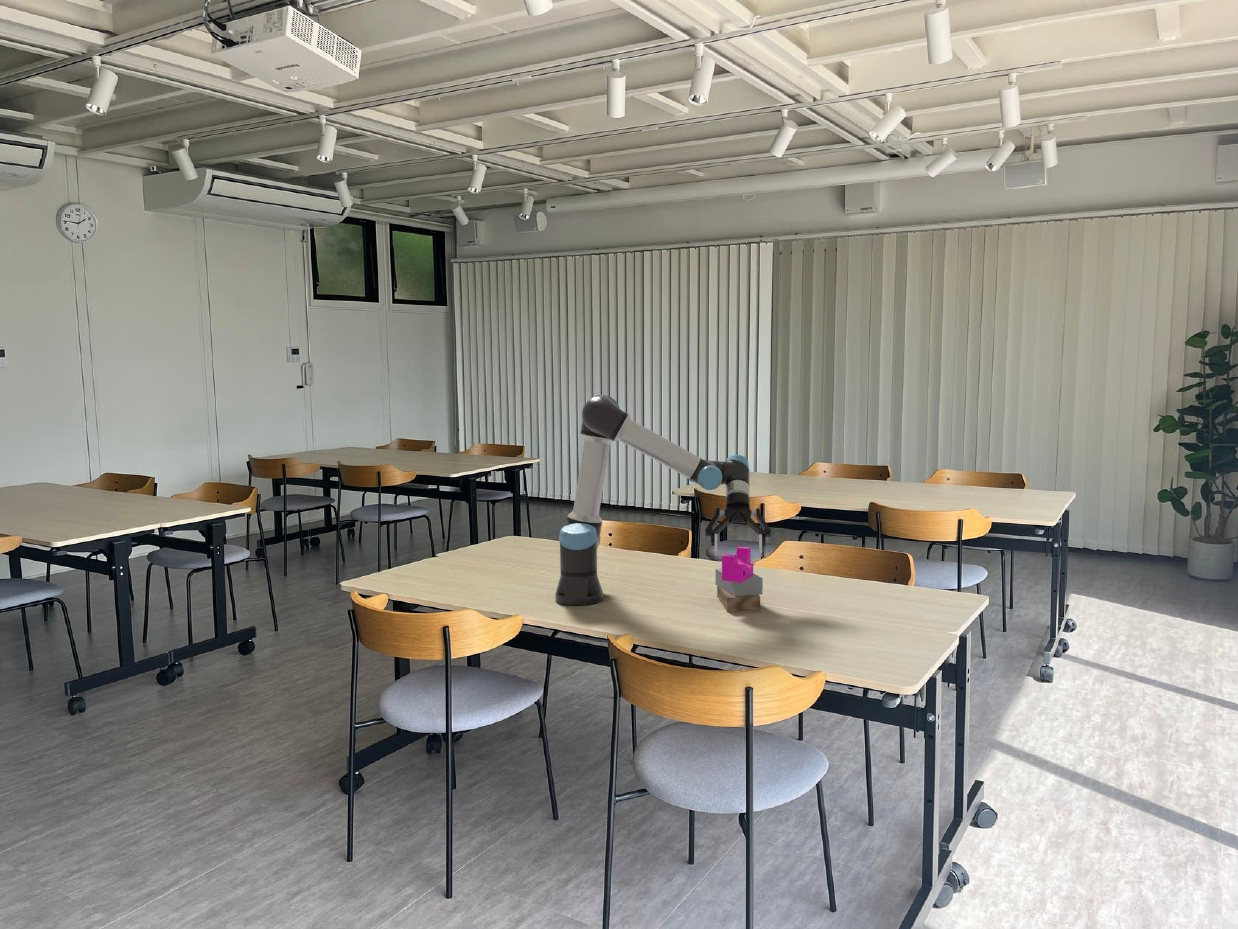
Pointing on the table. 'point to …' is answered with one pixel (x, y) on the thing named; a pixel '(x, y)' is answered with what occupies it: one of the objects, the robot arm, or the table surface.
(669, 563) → the table surface
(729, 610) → the tower base
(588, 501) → the robot arm
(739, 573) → the toy block
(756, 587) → the tower top
